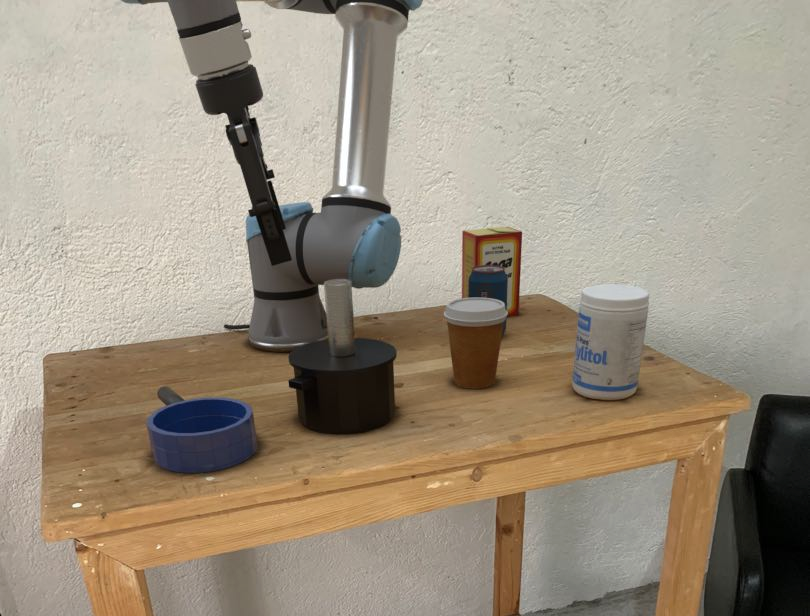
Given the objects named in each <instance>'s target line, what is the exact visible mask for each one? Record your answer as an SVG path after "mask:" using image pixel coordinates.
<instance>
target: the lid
mask: <svg viewBox="0 0 810 616" xmlns="http://www.w3.org/2000/svg"><path fill="white" fill-rule="evenodd" d="M323 291H324V300H325V301H324V303H325V312H326V317H327V330H328V339H327V340H321V341H316V342H311V343H308V344H305V345H302V346H300V347H297V348H296V349H294V350H292V351H289V354H288V357H287V358H288V363H289V365H290V366H291V367H292V368H293V369H294V368H296V369H298V370H300V371H304V372H308V373H314V374H324V375H345V374H356V373H362V372H368V371H372V370H376V369H379V368H382V367H385V366H387V365H389V364H390V363H392V362H393V363H394V362H395V360H396V359H397V356H398V354H397V353H398V352H397V351H398V350H397V349H396V347H395V346H393V345H392V344H391V343H389V342H386V341H382V340H378V339H373V338H366V337H365V338H364V337H356V336H355V335H356V334H355V320H354V319H355V318H354V305H353V303H354V302H353V287H352V284H351V281H350V280H347V279H333V280H328V281H325V282H324V285H323Z"/></svg>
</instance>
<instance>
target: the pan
mask: <svg viewBox="0 0 810 616" xmlns="http://www.w3.org/2000/svg"><path fill="white" fill-rule="evenodd" d="M184 400H185V401H180V402H176V403H173V404H170V405H167V406H166V405H164V406H162V407H160V408H158V409H157V410H155V411H153V412H152V413H151V414H150V415H149V416H148V417H147V418H146V428H147V429H146V430H147V433H148V439H149V444H150V448H151V453H152V458H153V459H154V462H155V463H156V465H157V466H158V467H160V468H162V469H164V470H167V471H170V472H176V473H184V474H198V473H209V472H210V473H211V472H217V471H220V470H225V469H228V468H232V467H234V466H237V465H240V464H241V463H244V462H245V461H247V460H249V459H250V458H251V457H252V456H253V455H254V454H255V453H256V452H257V449H258V439H257V431H256V425H255V417H254V411H253V408H252V406H251V405H250V404H248V403H247V402H246V401H243V400H240V399H236V398H231V397H230V398H229V397H222V396H221V397H217V396H214V397H213V396H212V397H211V396H210V397H206V396H205V397H197V398H190V399H184Z"/></svg>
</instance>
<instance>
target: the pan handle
mask: <svg viewBox="0 0 810 616" xmlns="http://www.w3.org/2000/svg"><path fill="white" fill-rule="evenodd" d="M157 397H158V399H159V401H160V402H162V403H163V404H164V406H167V405H170V404H173V403H176V402H180V401H185V400H186V399H184V398H183V397H182V396H181V395H179V393H176V391H175V390H173V388H172V387H169V386H167V385H164V386H161V387H159V388H158V390H157Z"/></svg>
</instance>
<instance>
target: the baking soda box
mask: <svg viewBox="0 0 810 616" xmlns="http://www.w3.org/2000/svg"><path fill="white" fill-rule="evenodd" d="M461 232H462V233H461V237H462V238H461V239H462V241H461V243H462V245H461V263H462V264H461V299H462V298H468V286H469V277H470V275H471V273H472V268H473V267H475V266H480V265H498V266H502V267H504V268H505V270H504V271H505V273H506V275H507V278H508V287H507V312H508V314H507V317H514V316H515V317H516V316H519V315H520V314H519V313H520V294H521V293H520V291H521V270H522V269H521V268H522V267H521V266H522V246H523V231H521V230H518V229H516V228H512V227H509V226H497V227H495V226H494V227H486V228H476V229H467V230H466V229H465V230H462V231H461Z"/></svg>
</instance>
